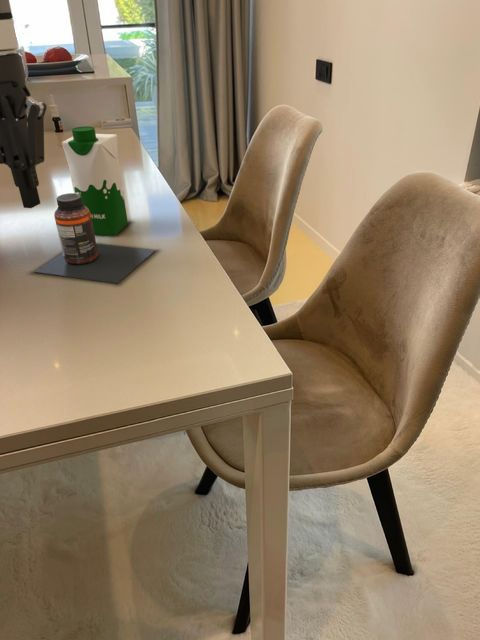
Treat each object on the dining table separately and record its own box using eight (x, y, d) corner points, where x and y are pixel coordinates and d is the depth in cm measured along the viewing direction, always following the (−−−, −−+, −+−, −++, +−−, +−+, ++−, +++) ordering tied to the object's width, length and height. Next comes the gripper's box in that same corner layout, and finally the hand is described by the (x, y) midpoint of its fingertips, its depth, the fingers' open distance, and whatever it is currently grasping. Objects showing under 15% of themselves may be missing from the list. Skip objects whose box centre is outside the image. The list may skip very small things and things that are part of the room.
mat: (35, 275, 96) (34, 271, 96) (79, 244, 107) (79, 241, 107) (118, 286, 92) (117, 283, 92) (155, 253, 103) (155, 250, 103)
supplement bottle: (81, 249, 103) (69, 189, 97) (105, 256, 101) (94, 194, 95) (57, 261, 99) (42, 198, 93) (81, 268, 97) (68, 204, 90)
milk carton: (75, 237, 110) (54, 130, 99) (95, 221, 118) (76, 120, 107) (117, 239, 109) (100, 132, 98) (134, 223, 116) (120, 121, 106)
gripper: (-60, 54, 83) (-14, 209, 96) (15, 55, 80) (52, 215, 93) (-25, 49, 89) (14, 196, 102) (46, 50, 86) (76, 201, 99)
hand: (32, 205), depth 97 cm, fingers closed
